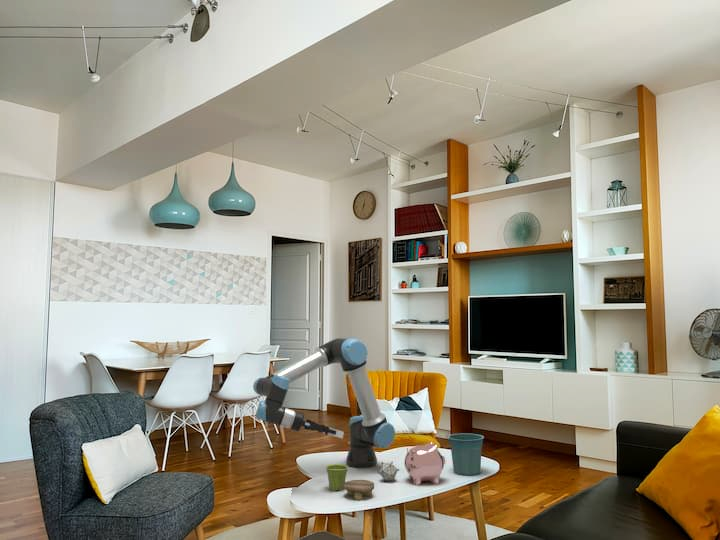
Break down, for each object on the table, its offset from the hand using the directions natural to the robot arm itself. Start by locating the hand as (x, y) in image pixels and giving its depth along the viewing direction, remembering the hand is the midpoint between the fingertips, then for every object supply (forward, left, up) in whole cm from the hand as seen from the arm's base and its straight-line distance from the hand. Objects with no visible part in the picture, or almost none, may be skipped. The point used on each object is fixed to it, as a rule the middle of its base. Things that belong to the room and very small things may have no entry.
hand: (340, 434), depth 233 cm
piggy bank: (-12, +36, -22) cm, 43 cm away
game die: (-11, +20, -22) cm, 31 cm away
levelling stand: (+11, +9, -21) cm, 26 cm away
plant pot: (+2, -1, -22) cm, 22 cm away
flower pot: (-27, +55, -22) cm, 65 cm away
